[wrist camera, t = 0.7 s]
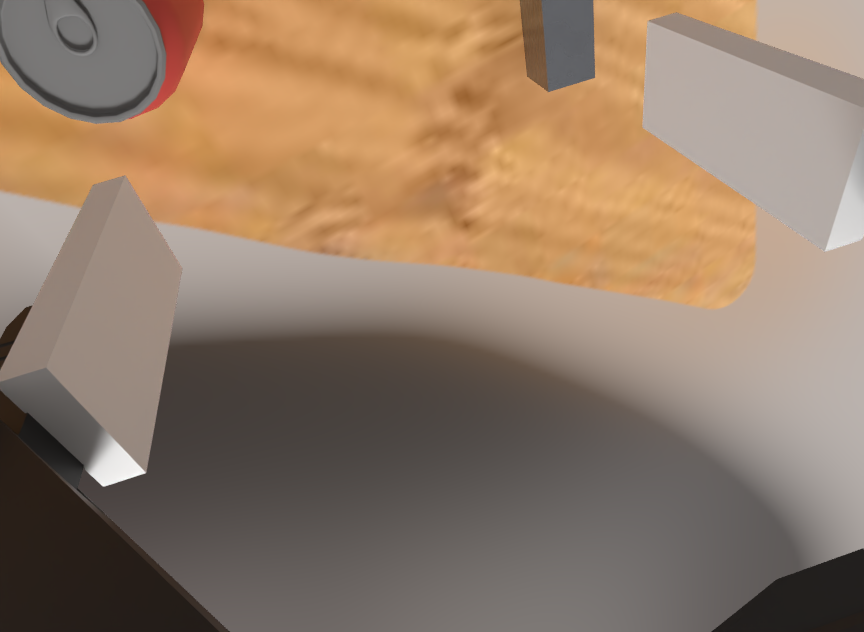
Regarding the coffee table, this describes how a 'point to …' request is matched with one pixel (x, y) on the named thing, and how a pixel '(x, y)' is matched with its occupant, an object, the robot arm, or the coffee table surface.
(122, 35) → the beer can
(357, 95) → the coffee table surface
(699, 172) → the coffee table surface
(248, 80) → the coffee table surface
